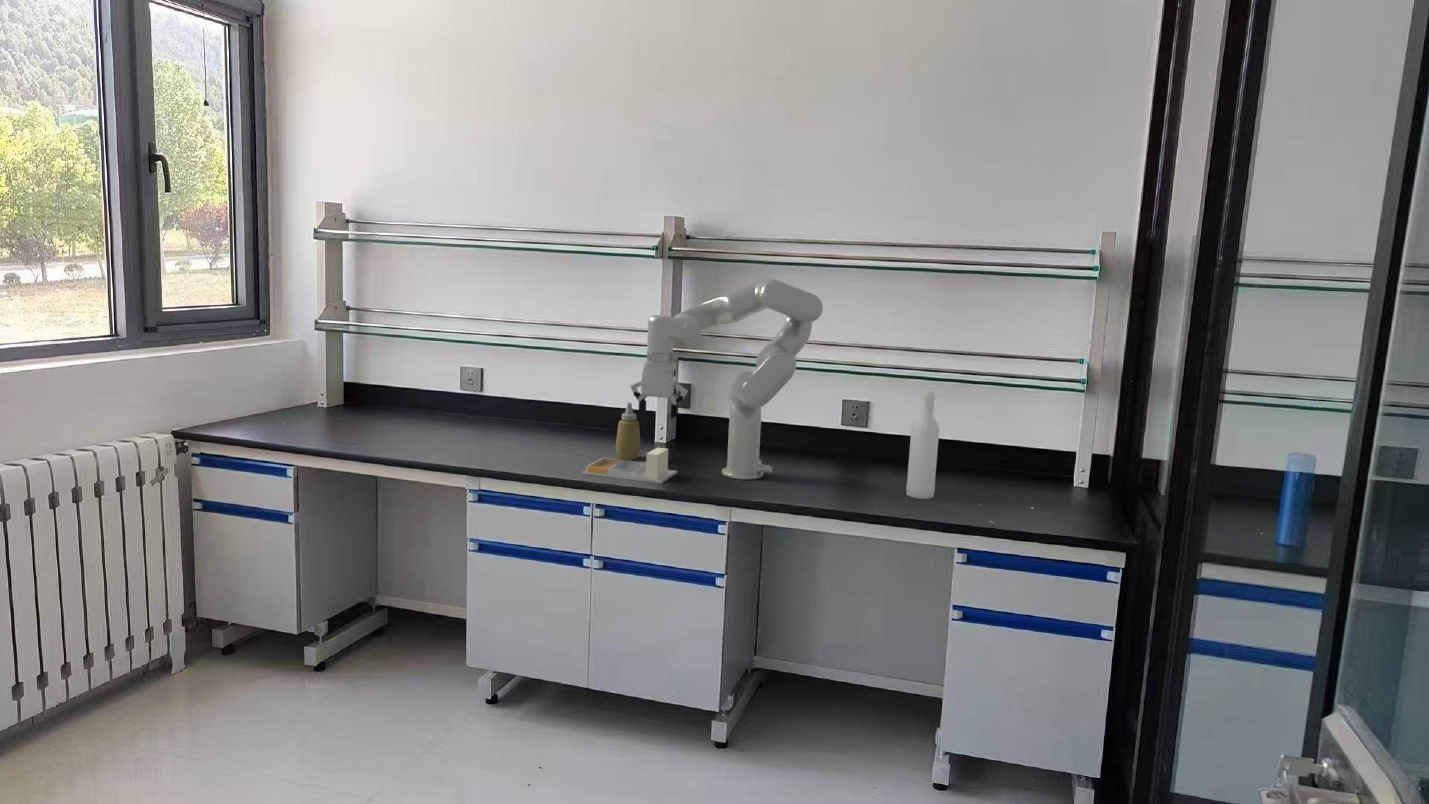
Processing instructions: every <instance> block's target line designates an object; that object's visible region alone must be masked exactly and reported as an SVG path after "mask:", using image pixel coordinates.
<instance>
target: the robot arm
mask: <svg viewBox="0 0 1429 804" xmlns="http://www.w3.org/2000/svg"><path fill="white" fill-rule="evenodd" d="M823 307H824V305H823V302H822V300H821V298H820V297H818V296H817V295H816V294H814V293H811V292H809V291H806V290H803V289H800V288H798V287H795V286H793V285H790V284H788V283H785V282H782V281H781V280H777V279H772V278H762V279H759V280H756V281H754V282H751V283H750V284H747V285H745V286H743V287H741V288H739V289H736V290H733V291H731V292H729V293H727V294H725V295H721V296H719V297H716V298H714V299H712V300H709V301H705V302H703V303H700V304H697V305H695V306H692V307H690V308H688V309H686V310H684V311H682V312H679V313H678V314H675V315H674V316H673V317H672V316H670V315H663V314H656V315H655V314H653V315H650V316H649V317H648V320H647V342H646V344H647V345H646V361H644V365H643V368H642V374H641V375H642V376H641V380H640V381H638V382H637V383H636V382H635V383H634V384H632V385H631V386H630V389H631V392H632V393H633V396H634V397H635V398H636V399H637V401H638V412H639V415H640V416H644V415H646V414H647V401H646V398H647V397H654V398H664V399H665V398H666V399H669V400H670V401H671V403H672V404H671V405H670V418H671V419H675V418H677V416H678V415H679V404H680V403H681V402H682V401H683V400H684V399H685V397H686V395H687V393H688V392H689V391H688V389H686V388H685V387H683V386H682V385H680V384H679V383H678V370H677V364H676V362H674V361H677V360H678V355H677V354H674V341H677V342H684V343H692V342H695V341H697V340H698V339H699V338H700V337H701V335H702V331H704V330H705V329H708V328H711V327H715V326H719V325H727V324H729V325H730V324H733V323H737V322H739V321H743V320H744V319H746V318H748V317H750V316H753V315H755V314H757V313H759V312H763V311H764V310H766V309H769V310H772V311H774V312H777V313H780V314H782V315H785V321H784V324H783V326H782V327H781V329H780V330H779V331H778V332H777V334H776V335H775V336H774V337H773V338H772V339H771V340H770V341H768V343H767V344H766V346H764V347H763V348H762V349H761V350H760V351H759V353H758V354H757V357H756V359H755V365H756V369H755V370H754V371H749V370H742V371H739V372H737V373H735V374H734V375H733V376H732V378H731V380H730V382H729V385H728V400H729V418H728V420H729V422H728V443H727V460H726V461H727V464H726V467H724V468H721V475H723V476H724V477H725V478H726V477H727V478H731V479H735V480H756V479H760V478H762V477H764V473H768V474H769V473H770V474H771V473H772V472H773V466H771V465H769V464H764V463H762V459H760V446H761V426H762V407H764V406H766V405H767V404H768V403H769V402H771V400H772V399H773V398H774V397H775V396H776V395H777V394H778V393H779V392H780V391H781V390H782V389H783V388H784V386H786V384H788V382H789V381H790V380H791V379H792V377H793V376H794V374H795V372H796V369H797V359H796V356H797V355H798V354H799V353H800V351H801V350H802V349H803V348H804V347H805V345H806V344H807V343H808V342H809V340H810V336H811V333H812V328H813V323H814V322H816V321H817V320H818V319H819V318H820V317H821V315H822V314H823V310H824V308H823ZM638 388H640V391H639V390H638ZM678 392H680V395H679V396H677V395H678Z"/></svg>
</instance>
